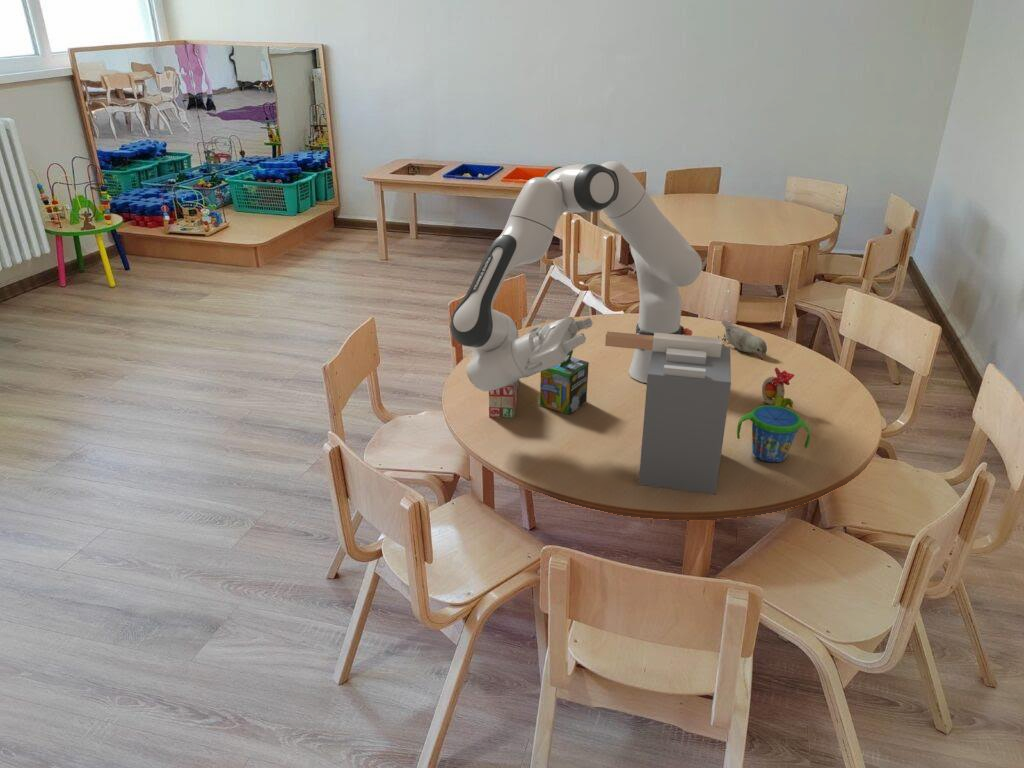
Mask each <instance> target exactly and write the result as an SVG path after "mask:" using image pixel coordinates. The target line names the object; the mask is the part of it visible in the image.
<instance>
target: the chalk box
mask: <svg viewBox="0 0 1024 768" xmlns="http://www.w3.org/2000/svg"><path fill="white" fill-rule="evenodd" d="M573 353H574V349H573V350H572V351H570V352H568V354H567V356H566V359H565V361H564V362H562V363H561V364H559V365H557V366H554V367H552V368H549V369H546V370H543V371H541V372H540V382H539V383H540V384H539V385H540V386H539V387H540V388H539V389H540V390H539V391H540V395H539V397H540V398H539V400H540V401H539V403H540V404H539V405H540V406H542V407H545V408H547V409H551V410H552V411H553V410H554V411H557V412H559V413H562V414H565V415H569V416H570V415H571V414H572V413H573V412H575V411H576V410H577V409H579V408H581V406H583V405H584V404H586V403H587V400H588V399H587V396H588V383H589V382H588V380H589V367H590V366H589V365H590V362H589V361H585V360H582V359H579V358H575V357H573Z"/></svg>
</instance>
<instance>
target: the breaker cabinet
mask: <svg viewBox="0 0 1024 768" xmlns="http://www.w3.org/2000/svg"><path fill="white" fill-rule="evenodd" d="M731 367H732V365H731V347H730V346H726V345H725V346H724V345H722V348H721V356H720V357H710V356H706V352H704V351H693V350H682V349H671V348H667V351H666V352H657V351H652V355H651V360H650V365H649V370H648V377H647V383H646V388H645V390H646V391H645V401H644V402H645V403H644V411H643V413H644V414H643V427H642V439H641V450H640V460H639V461H640V462H639V473H638V485H641V486H646V487H647V486H648V487H655V488H663V489H670V490H678V491H687V492H691V493H692V492H694V493H702V494H709V495H715V496H716V494H717V487H718V480H719V474H720V473H719V471H720V465H721V464H720V463H721V458H722V451H723V450H722V449H723V443H724V437H725V430H726V429H725V428H726V422H727V414H728V407H729V399H730V394H731V393H730V392H731V386H732V373H731V372H732V370H731V369H732V368H731Z"/></svg>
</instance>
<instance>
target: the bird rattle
mask: <svg viewBox="0 0 1024 768" xmlns="http://www.w3.org/2000/svg"><path fill="white" fill-rule="evenodd" d="M774 372H775V374H776V376H769V377H767V378H766V379H765V380H763V384H762V387H761V394H762V397H763V403H764V404H768V405H773V406H780V407H785V408H787V406H789V409H793V407H794V405H793V404H794V400H792V399H791V398H789V397H785V385H786V386H790V380H792V379H793V378H795V374H793V373H790V372H788V371H787V370H782V371H780V369H779V368H778V367H777V366H776V367H775V368H774Z"/></svg>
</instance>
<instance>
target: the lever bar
mask: <svg viewBox="0 0 1024 768" xmlns="http://www.w3.org/2000/svg"><path fill="white" fill-rule="evenodd" d="M722 339H723V338H721V337H719V338H718V337H711V336H701V335H700V336H699V335H691V336H690V335H684V334H683V335H678V334H667V333H656V332H654V336H652V335H641V334H636V333H630V332H629V333H628V332H627V333H626V332H617V331H616V332H615V331H606V333H605V343H604V344H605V347H613V348H623V349H624V348H625V349H632V350H635V349H643V350H652V351H657V352H666V351H667V348H671V349H682V350H693V351H704V352H706V356H710V357H720V356H721V348H722V346H723V340H722Z"/></svg>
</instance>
